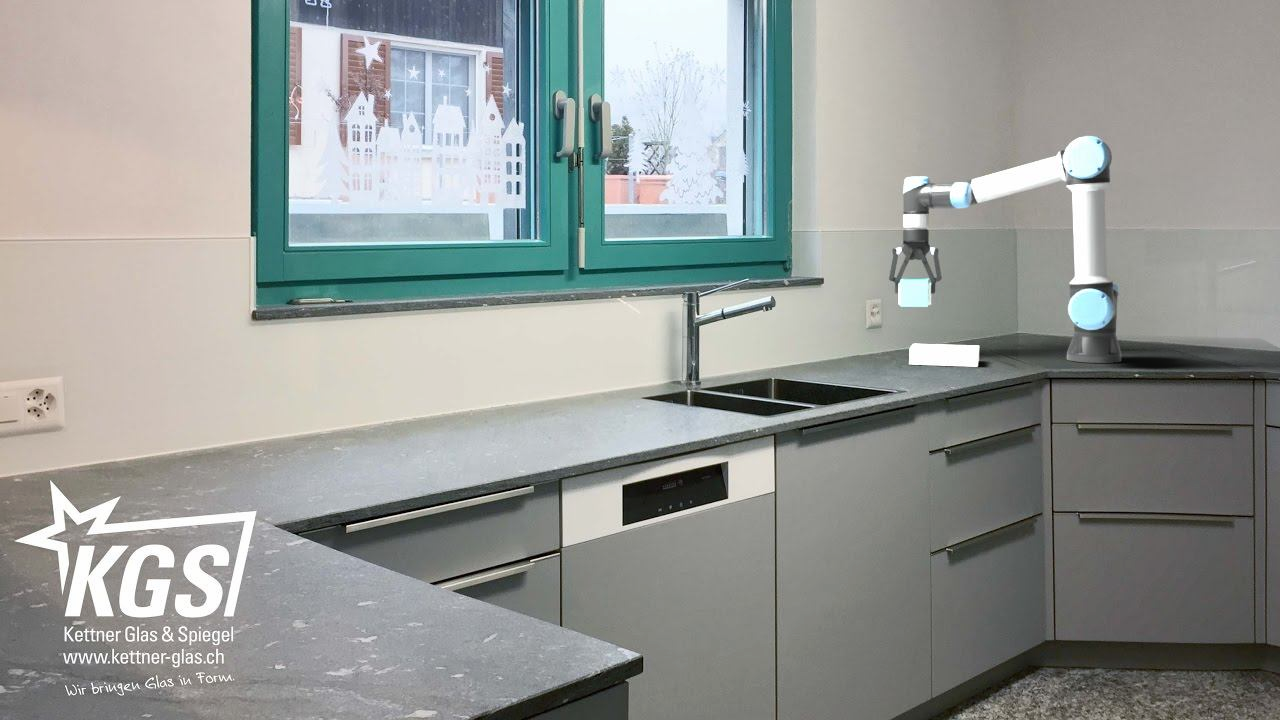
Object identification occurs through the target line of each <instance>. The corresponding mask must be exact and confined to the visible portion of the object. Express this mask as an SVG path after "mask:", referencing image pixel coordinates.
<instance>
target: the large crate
mask: <svg viewBox="0 0 1280 720" xmlns="http://www.w3.org/2000/svg"><path fill="white" fill-rule="evenodd" d="M908 356H909V358H908V360H909V361H908V365H912V366H914V365H915V366H919V365H921V366H948V367H975V368H976V367H977V368H978V366H979V362H980V345H970V344H969V345H967V344H934V343H933V344H929V343H912V345H911V346H910V348H909V353H908Z"/></svg>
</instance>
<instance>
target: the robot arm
mask: <svg viewBox="0 0 1280 720" xmlns="http://www.w3.org/2000/svg"><path fill="white" fill-rule="evenodd" d="M1112 155H1113V154H1112V151H1111V149H1110V147H1109V146H1108V144H1107V143H1105V142H1104V140H1102V139H1101V138H1098V136H1093V135H1085V136H1081V137H1077V138H1076V139H1074V140H1073V141H1071V142H1069V144H1068V146H1066V148H1065V149H1063V150H1060V151H1058V153H1057V154H1056V155H1055V156H1051V157H1047V158H1043V159H1039V160H1036V161H1034V162H1033V161H1032V162H1029V163H1026V164H1022V165H1019V166H1015V167H1012V168H1008V169H1005V170H1000V171H997V172H993V173H991V174H987V175H984V176H980V177H976V178H973V179H968V180H965V181H962V182H961V181H958V182H957V181H956V182H940V183H939V182H937V183H935V182H931V181H930V178H929V177H928V176H908V177H906V178H905V179H904V181H903V182H904V183H903V191H902V195H903V212H902V213H903V214H902V217H903V218H902V219H903V221H902V226H903V228H904V230H903V231H902V245H901V247H893V248H892V260H891V261H892V262H891V266H890V272H889V277H888V279H889V281H891V282H893V283H894V293H895V294H898V305H899V306H900V286H901V279H902V277H903V274H904V273H905V270H906V269H907V266H908V264H909V263H910V261H913V260H914V261H915V260H918V261H921V263H922V264H923V267H924V269H925V271H926V273H927V276H928V279H930V283H928V305H929V306H931V305H932V295H934V294H935V293H936V283H937V282H939V281H940V282H941V280H942V278H943V277H942V272H941V266H940V259H939V252H940V249H939V247H932V246H931V245H930V243H929V242H930V241H929V240H930V239H929V235H930V232H929V229H928V228H929V226H930V209H933V210H934V209H956V210H961V209H962V210H963V209H966V208H968V207H971V206H973V205H976V204H980V203H984V202H988V201H991V200H996V199H1000V198H1004V197H1006V196H1010V195H1014V194H1018V193H1021V192H1025V191H1029V190H1033V189H1036V188H1037V189H1038V188H1040V187H1043V186H1044V187H1045V186H1048V185H1051V184H1056V183H1059V182H1065V185H1066V186H1065V187H1066V188H1067V189H1068V190H1069V191H1071V193H1072V195H1071V197H1072V198H1071V199H1072V201H1071V202H1072V226H1073V227H1072V229H1073V230H1072V231H1073V255H1074V256H1073V257H1074V260H1073V262H1074V277H1073V278H1072V280H1070V282H1069V303H1068V306H1067V311H1068V316H1069V318H1070V320H1071V321H1072V323H1073V325H1074V326H1073V328H1074V329H1073V336H1072V338H1071V341H1070V344H1069V345H1068V348H1067V351H1066V360H1067V361H1071V362H1079V363H1092V364H1093V363H1095V364H1114V362H1115V363H1120V362H1122V352H1121V348H1120V347H1121V346H1120V344H1119V341H1118V337H1117V321H1118V320H1117V318H1118V299H1119V298H1118V296H1119V287H1118V285H1117V284H1116V283H1115V282H1114V280H1113V279H1111V277H1109V276H1108V268H1107V267H1108V266H1107V264H1108V263H1107V233H1106V232H1107V230H1106V228H1107V227H1106V198H1105V197H1106V195H1105V190H1107V189H1106V188H1108V186H1110V184H1111V175H1110V172H1111V169H1110V167H1111V164H1112V159H1113V158H1112V157H1113V156H1112ZM901 252H902V254H904V255H905V258H904V260H903V262H902V264H901V267H900V269H899V271H898V273H897V275H896V276H895V274H896V268H897V264H898V259H899V257H898V256H899V255H900V254H901ZM929 252H930V253H931V255H932V256H933V263H934V267H935V274H936V277H935V276H934V273H933V271H932V269H931V266H930V265H929V262H928V260H927V257H926V256H927V254H928V253H929Z"/></svg>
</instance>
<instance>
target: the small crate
mask: <svg viewBox="0 0 1280 720" xmlns="http://www.w3.org/2000/svg"><path fill="white" fill-rule="evenodd" d="M900 283H901V286H900V305H899V306H900V307H901V308H903V307H905V308H906V307H909V308H910V307H911V308H912V307H913V308H915V307H917V308H920V307H921V308H924V307H925V308H927V307H929V306H930V305H928V283H931V280H930V278H901V279H900Z"/></svg>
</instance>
